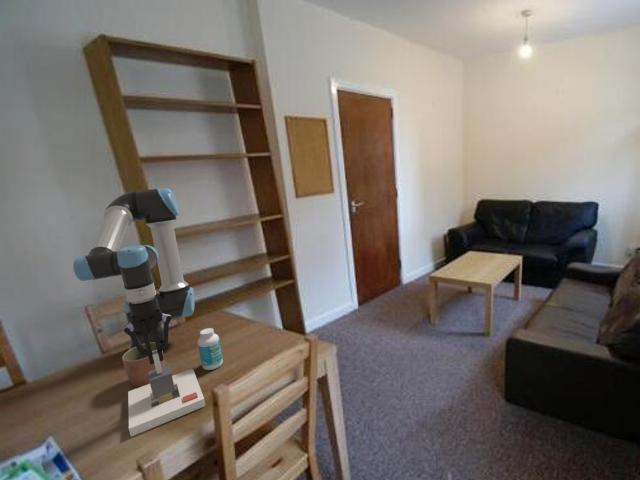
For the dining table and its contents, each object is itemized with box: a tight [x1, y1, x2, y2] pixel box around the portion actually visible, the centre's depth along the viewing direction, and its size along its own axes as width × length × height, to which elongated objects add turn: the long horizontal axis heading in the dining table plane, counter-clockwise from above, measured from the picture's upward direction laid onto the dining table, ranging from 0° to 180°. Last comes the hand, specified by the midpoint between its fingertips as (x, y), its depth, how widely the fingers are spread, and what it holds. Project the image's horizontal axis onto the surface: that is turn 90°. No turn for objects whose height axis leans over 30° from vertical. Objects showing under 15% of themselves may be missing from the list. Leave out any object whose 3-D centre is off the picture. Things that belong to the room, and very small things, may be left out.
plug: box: [148, 364, 175, 404], centre depth 105 cm, size 6×6×10 cm
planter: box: [121, 342, 166, 388], centre depth 119 cm, size 12×12×11 cm
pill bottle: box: [197, 327, 224, 371], centre depth 123 cm, size 8×7×14 cm
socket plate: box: [127, 368, 207, 438], centre depth 106 cm, size 20×20×3 cm
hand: (159, 371), depth 104 cm, fingers closed
